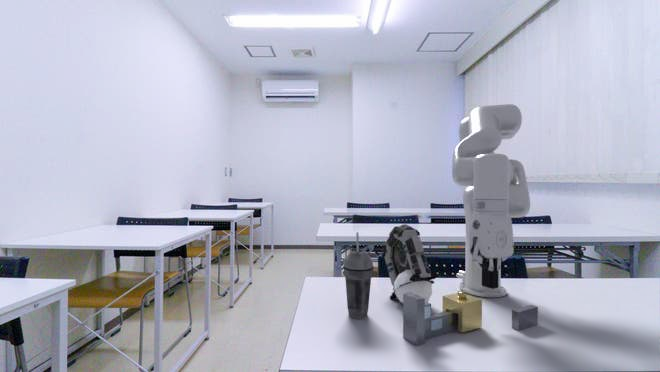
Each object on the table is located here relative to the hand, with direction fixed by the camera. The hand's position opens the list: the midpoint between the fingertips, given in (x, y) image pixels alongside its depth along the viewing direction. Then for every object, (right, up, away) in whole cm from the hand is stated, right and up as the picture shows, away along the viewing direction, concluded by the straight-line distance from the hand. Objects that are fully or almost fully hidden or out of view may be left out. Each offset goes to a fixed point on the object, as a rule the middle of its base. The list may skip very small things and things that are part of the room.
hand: (489, 286), depth 77 cm
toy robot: (-17, -8, +13) cm, 23 cm away
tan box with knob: (-8, -7, -3) cm, 11 cm away
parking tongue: (+7, -8, -3) cm, 11 cm away
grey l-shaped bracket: (-13, -8, -6) cm, 16 cm away
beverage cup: (-30, -8, +3) cm, 31 cm away
